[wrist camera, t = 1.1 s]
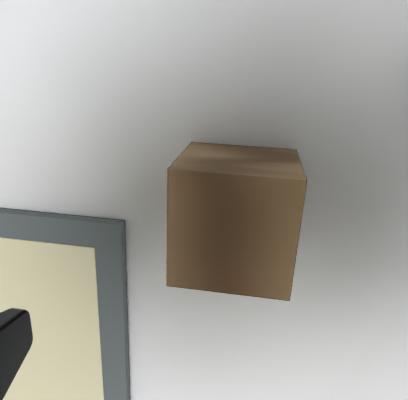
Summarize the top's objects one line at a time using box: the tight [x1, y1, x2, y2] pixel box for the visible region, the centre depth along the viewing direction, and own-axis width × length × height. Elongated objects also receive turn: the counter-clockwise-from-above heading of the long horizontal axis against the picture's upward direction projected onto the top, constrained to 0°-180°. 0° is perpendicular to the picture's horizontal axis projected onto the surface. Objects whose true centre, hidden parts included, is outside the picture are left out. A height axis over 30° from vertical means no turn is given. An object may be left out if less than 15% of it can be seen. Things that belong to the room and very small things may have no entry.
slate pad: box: [0, 208, 130, 400], centre depth 24 cm, size 14×18×1 cm
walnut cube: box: [167, 142, 307, 301], centre depth 17 cm, size 5×5×5 cm
